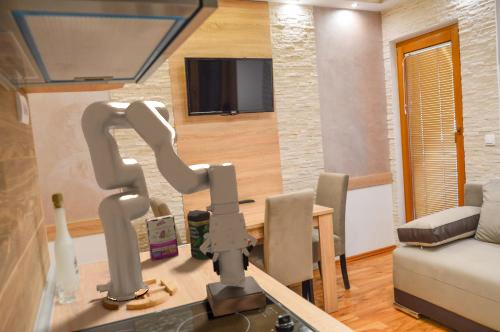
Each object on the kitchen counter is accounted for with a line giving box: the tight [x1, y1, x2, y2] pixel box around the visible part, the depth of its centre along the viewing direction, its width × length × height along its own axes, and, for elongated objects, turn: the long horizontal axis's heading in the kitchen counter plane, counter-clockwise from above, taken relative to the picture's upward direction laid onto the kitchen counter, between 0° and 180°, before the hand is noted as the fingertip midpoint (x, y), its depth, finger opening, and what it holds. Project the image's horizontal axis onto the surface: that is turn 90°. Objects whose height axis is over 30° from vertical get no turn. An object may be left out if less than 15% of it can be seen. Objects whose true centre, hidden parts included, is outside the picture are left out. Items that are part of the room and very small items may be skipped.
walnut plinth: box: [205, 275, 267, 318], centre depth 110 cm, size 14×14×4 cm
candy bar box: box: [144, 214, 179, 262], centre depth 162 cm, size 11×5×16 cm, turn 114°
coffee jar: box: [187, 209, 213, 260], centre depth 157 cm, size 10×8×19 cm
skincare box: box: [217, 242, 246, 286], centre depth 110 cm, size 6×4×12 cm
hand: (231, 271), depth 110 cm, fingers closed on skincare box, 7 cm apart
